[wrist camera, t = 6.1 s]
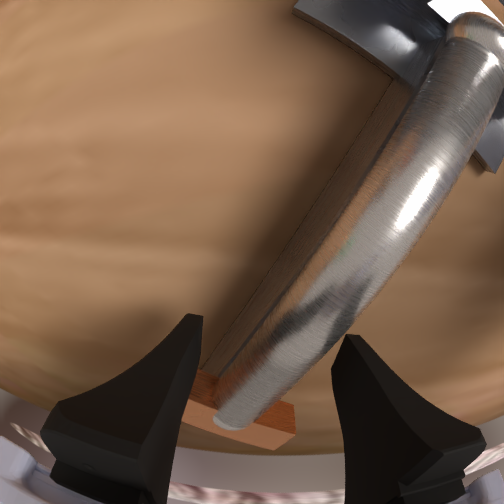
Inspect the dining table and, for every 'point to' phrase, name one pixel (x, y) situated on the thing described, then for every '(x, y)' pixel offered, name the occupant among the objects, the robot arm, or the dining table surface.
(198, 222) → the dining table surface
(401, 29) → the grey hammer
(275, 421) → the metal rod with plate
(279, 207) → the dining table surface
